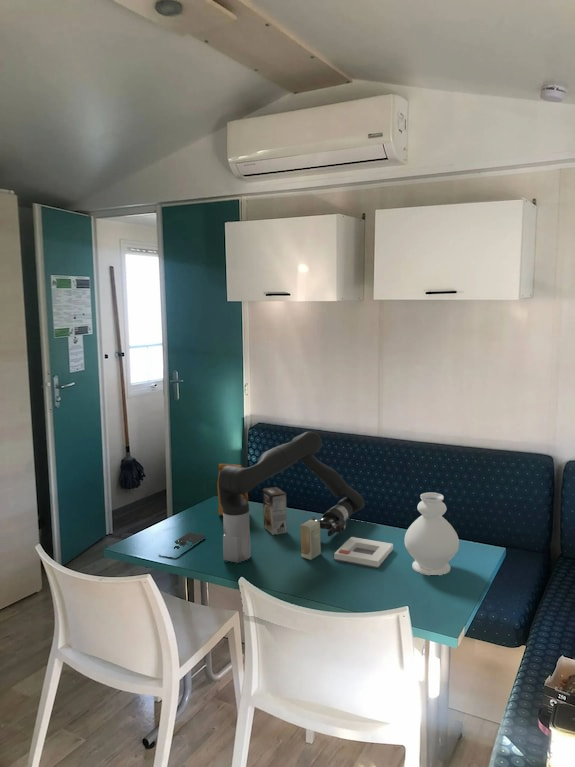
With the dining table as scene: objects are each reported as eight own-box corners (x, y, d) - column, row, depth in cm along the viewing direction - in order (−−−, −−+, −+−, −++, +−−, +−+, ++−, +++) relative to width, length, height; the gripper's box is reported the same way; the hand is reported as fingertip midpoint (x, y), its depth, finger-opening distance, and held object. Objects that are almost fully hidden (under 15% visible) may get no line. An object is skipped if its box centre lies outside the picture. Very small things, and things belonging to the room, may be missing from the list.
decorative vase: (394, 561, 221) (394, 491, 217) (438, 552, 227) (439, 484, 223) (423, 583, 204) (423, 508, 200) (469, 573, 210) (471, 500, 206)
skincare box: (311, 551, 231) (310, 518, 229) (321, 554, 228) (320, 521, 226) (300, 557, 226) (299, 524, 224) (310, 560, 223) (309, 527, 221)
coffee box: (263, 527, 254) (261, 488, 252) (277, 524, 257) (276, 486, 254) (272, 535, 246) (271, 495, 244) (287, 532, 249) (286, 492, 246)
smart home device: (157, 551, 231) (188, 532, 248) (157, 556, 231) (188, 536, 249) (176, 555, 227) (206, 535, 245) (176, 560, 227) (206, 539, 245)
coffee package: (241, 520, 262) (239, 468, 259) (215, 517, 267) (213, 466, 264) (252, 512, 271) (250, 462, 268) (226, 509, 276) (224, 459, 273)
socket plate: (378, 568, 216) (378, 559, 215) (334, 560, 223) (334, 551, 222) (392, 550, 230) (392, 542, 229) (351, 543, 237) (351, 535, 236)
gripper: (318, 505, 248) (300, 519, 234) (352, 510, 242) (335, 525, 228) (318, 523, 250) (300, 538, 235) (352, 529, 243) (336, 545, 229)
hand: (317, 532), depth 232 cm, fingers open, 8 cm apart
